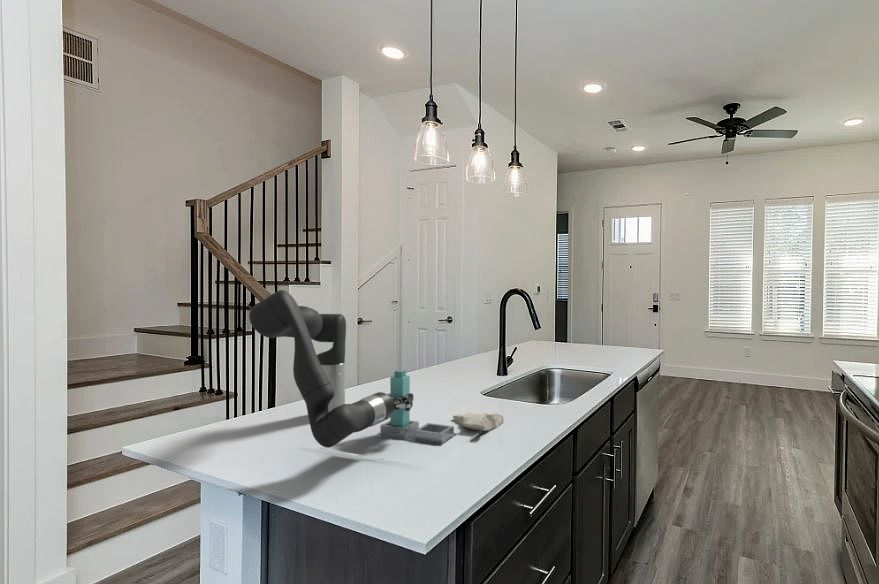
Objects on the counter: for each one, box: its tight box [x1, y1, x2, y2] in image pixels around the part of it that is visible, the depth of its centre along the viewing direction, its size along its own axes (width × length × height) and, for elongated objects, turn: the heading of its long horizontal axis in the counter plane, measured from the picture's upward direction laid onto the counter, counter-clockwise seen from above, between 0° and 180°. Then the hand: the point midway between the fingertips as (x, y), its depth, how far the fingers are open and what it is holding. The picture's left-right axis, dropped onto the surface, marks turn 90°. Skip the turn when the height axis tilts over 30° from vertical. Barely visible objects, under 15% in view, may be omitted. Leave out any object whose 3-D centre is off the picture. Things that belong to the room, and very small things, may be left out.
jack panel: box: [375, 420, 459, 447], centre depth 146 cm, size 20×12×4 cm, turn 65°
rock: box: [452, 412, 505, 432], centre depth 158 cm, size 21×5×15 cm
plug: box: [389, 369, 411, 428], centre depth 149 cm, size 4×4×17 cm
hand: (404, 396), depth 151 cm, fingers closed on plug, 4 cm apart
